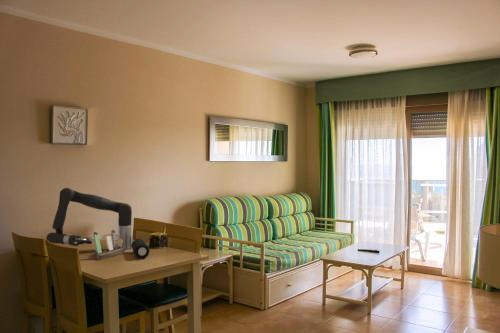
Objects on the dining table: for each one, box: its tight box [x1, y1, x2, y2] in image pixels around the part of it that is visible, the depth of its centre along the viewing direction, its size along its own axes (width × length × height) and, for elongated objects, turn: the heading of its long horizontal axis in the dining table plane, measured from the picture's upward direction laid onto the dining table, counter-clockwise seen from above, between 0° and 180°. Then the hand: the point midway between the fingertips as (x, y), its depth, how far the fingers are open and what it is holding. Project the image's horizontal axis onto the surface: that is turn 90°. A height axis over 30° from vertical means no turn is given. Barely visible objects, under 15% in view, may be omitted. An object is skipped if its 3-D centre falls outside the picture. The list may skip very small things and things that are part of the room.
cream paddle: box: [104, 234, 114, 251], centre depth 293 cm, size 1×4×10 cm, turn 157°
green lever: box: [92, 231, 103, 254], centre depth 283 cm, size 3×4×15 cm
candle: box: [148, 232, 168, 248], centre depth 325 cm, size 10×10×10 cm
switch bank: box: [90, 246, 125, 261], centre depth 290 cm, size 9×23×5 cm, turn 157°
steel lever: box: [110, 229, 118, 249], centre depth 299 cm, size 2×3×13 cm
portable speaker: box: [131, 238, 151, 259], centre depth 294 cm, size 26×10×10 cm, turn 21°
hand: (91, 242), depth 285 cm, fingers closed
